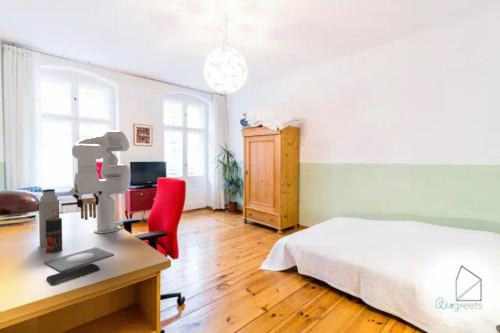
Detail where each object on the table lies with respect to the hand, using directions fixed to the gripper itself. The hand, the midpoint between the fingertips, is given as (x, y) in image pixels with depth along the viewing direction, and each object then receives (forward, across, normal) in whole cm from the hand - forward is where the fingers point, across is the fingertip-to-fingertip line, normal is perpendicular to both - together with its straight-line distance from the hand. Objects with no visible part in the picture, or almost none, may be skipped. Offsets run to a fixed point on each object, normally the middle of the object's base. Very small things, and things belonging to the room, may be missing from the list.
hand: (88, 205), depth 119 cm
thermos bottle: (+21, +9, -21) cm, 31 cm away
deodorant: (+21, +12, -7) cm, 25 cm away
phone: (+20, +18, +28) cm, 39 cm away
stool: (+6, 0, 0) cm, 6 cm away
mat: (+20, +10, +14) cm, 26 cm away
